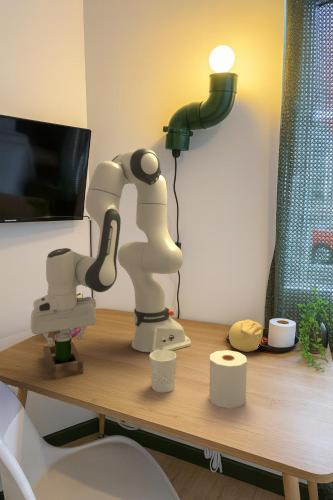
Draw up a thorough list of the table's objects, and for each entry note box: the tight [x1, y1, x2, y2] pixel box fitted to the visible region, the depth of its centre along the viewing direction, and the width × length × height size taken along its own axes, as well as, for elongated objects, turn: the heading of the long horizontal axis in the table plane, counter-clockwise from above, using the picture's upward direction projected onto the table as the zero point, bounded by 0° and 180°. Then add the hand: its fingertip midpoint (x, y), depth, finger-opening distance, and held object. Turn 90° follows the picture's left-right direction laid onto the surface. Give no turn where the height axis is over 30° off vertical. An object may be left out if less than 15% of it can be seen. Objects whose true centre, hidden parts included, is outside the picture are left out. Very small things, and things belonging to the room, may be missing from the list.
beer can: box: [53, 332, 73, 365], centre depth 123 cm, size 5×5×12 cm
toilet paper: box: [208, 349, 248, 409], centre depth 107 cm, size 10×10×12 cm
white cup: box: [148, 350, 177, 394], centre depth 113 cm, size 8×8×10 cm
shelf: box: [43, 341, 84, 381], centre depth 128 cm, size 10×18×4 cm, turn 24°
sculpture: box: [228, 319, 264, 353], centre depth 141 cm, size 12×12×11 cm
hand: (65, 341), depth 123 cm, fingers open, 8 cm apart
